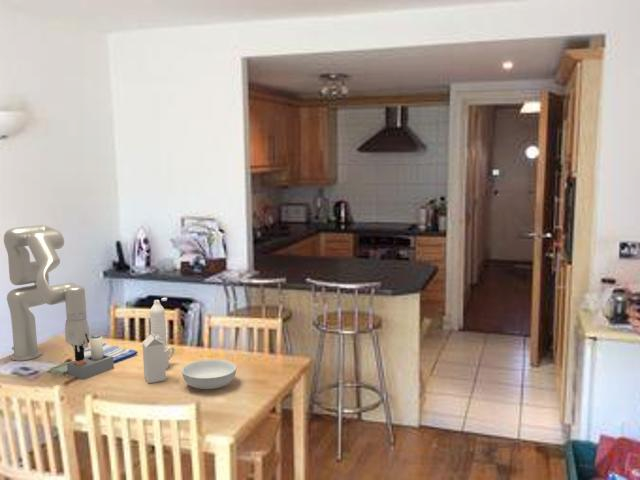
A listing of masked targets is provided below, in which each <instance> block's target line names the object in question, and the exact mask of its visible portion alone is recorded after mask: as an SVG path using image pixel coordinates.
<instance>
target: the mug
mask: <svg viewBox="0 0 640 480" xmlns="http://www.w3.org/2000/svg"><path fill="white" fill-rule="evenodd" d="M166 346H167V345H166ZM166 346H164V351H165V371H166V370H167V369H169V367H170V363H169V361H170V359H171V358H172V357H173V355H174V353H175V348H174V347H173V346H171V345H170V346H168V347H166ZM170 349H171V353H170V355H169V352H170V351H169V350H170Z"/></svg>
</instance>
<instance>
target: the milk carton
mask: <svg viewBox="0 0 640 480" xmlns="http://www.w3.org/2000/svg"><path fill="white" fill-rule="evenodd" d="M161 339H162V338H161V337H159V336H158V335H157V336H156V337H155V335H154V334H153V333H152V332H151V331H150V334H149V335H148V336H147V337H146V338H145V339H144V340H143V341H142V356H143V377H144V379H145V381H146V383H147V384H152V383H157V382H158V383H159V382H164V381H166V380H167V375H166V374H167V373H166V370H165V351H164V344H163V343H162V341H161Z"/></svg>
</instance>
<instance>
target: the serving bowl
mask: <svg viewBox="0 0 640 480" xmlns="http://www.w3.org/2000/svg"><path fill="white" fill-rule="evenodd" d="M181 373H182V377H183V380H184V381H185V382H186V384H187V385H189V386H190V387H193V388H195V389H200V390H201V389H202V390H213V389H217V388H222V387H224V386H226V385H229V383H231V382H232V381H233V380H234V377H235V376H236V373H237V366H236V364H235V363H234V362H231V361H229V360H225V359H203V360H197V361H193V362H190V363H188V364H186V365H185V366H183V367H182V369H181Z"/></svg>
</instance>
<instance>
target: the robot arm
mask: <svg viewBox="0 0 640 480" xmlns="http://www.w3.org/2000/svg"><path fill="white" fill-rule="evenodd" d="M3 243H4V248H5V249H6V253H7V257H8V258H7V259H8V261H7V262H8V274H9V275H8V276H9V280H10V283H11V284H12V285H14V286H21V287H17V288H14V289H11V290H10V291H8V292H7V295H6V301H7V305H8V309H9V313H10V320H11V329H12V332H11V333H12V341H13V346H12V347H11V350H12V351H13V353H12V354H11V355H10V360H12V361H15V360H16V361H17V362H18V361H19V362H20V361H21V362H22V361H29V360H33V359H37V358H39V357H41V356H42V355H43V354H42V353H43V352H42V350H40V349H38V337H37V336H38V335H37V326H36V325H37V323H36V317H35V315H34V313H33V312H31V310H30V308H33V307H34V308H35V307H38V306H43V305H46V304H47V305H50V306H52V305H57V304H63V303H65V314H66V320H65V325H64V326H65V328H64V333H65V334H64V337H65V342H66V344H68V345H71V346H72V349H73V351H74V361H80V360H83V359H84V350H86V349H88V348H89V344H90V337H91V335H90V330H89V323H88V318H87V317H88V315H87V303H86V291H85V287H84V286H83V285H78V284H76V283H75V282H66V283H60V284H56V285H50V279H49V273H50V272H52V271H53V270H55V269H56V268H57V267H58V266H60V263H61V260H60V257H59V255H58V254H57V251H56V250H60V249H62V248H63V247H64V244H65V237H64V236H63V233H61V232H60V231H59V230H58V229H55V228H53V227H50V226H48V225H45V224H35V225H27V226H26V225H25V226H18V227H12V228H9V229H8V230H6V231H5V233H4V235H3ZM26 247H28V248H29V250H30V251H29V250H28V249H27V248H26ZM30 252H31V254H32V256H33V258H34V261H31V257H30ZM29 284H33V285H29ZM25 285H26V286H25ZM27 285H28V286H27Z"/></svg>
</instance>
